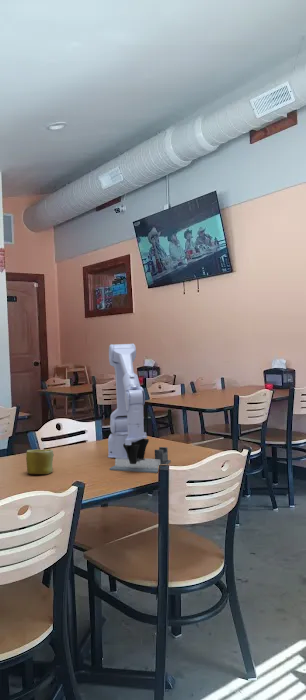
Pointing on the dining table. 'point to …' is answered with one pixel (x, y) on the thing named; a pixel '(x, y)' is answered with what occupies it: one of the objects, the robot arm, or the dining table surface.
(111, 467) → the mat
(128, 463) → the rail
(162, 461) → the rack
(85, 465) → the dining table surface
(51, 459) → the mug
